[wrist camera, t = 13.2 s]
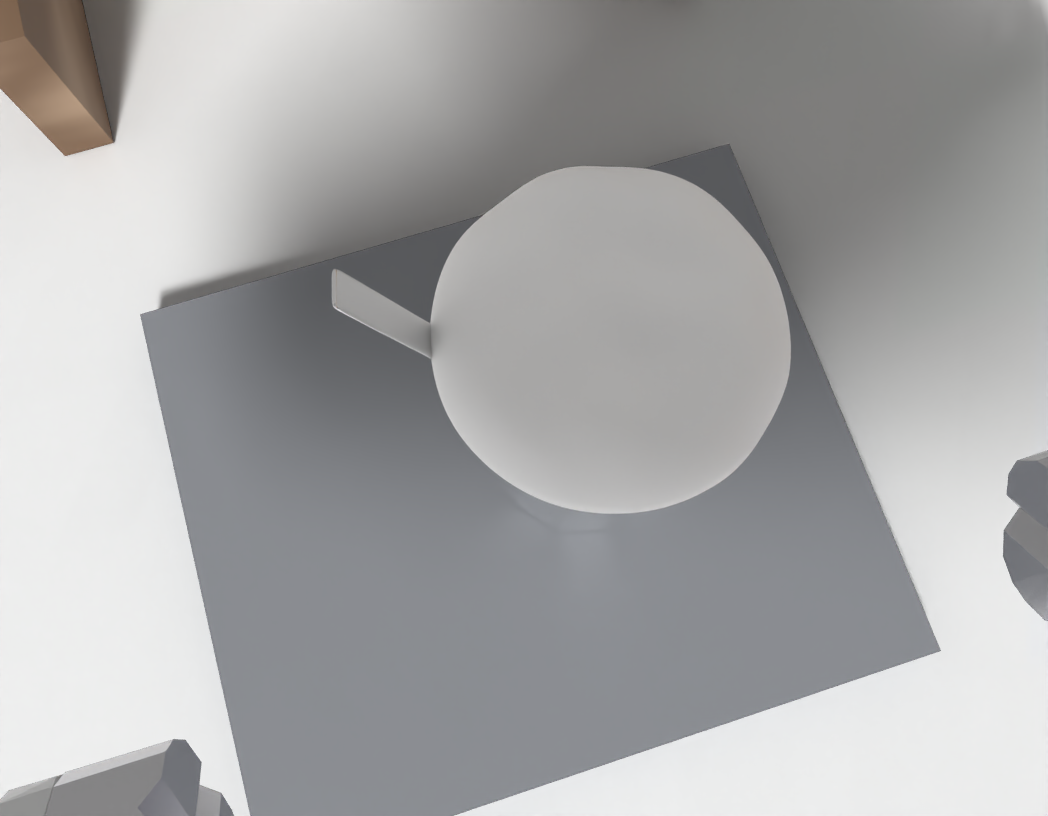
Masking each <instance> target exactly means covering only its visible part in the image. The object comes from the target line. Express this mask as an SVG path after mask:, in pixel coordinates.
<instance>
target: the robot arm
mask: <svg viewBox="0 0 1048 816" xmlns="http://www.w3.org/2000/svg"><path fill="white" fill-rule="evenodd" d="M1007 496H1008V497H1009V498H1010V499H1011V500H1012V501H1013V502H1014V503H1015V504H1016V505H1017V506H1019V507H1020V508H1019V509H1018V510H1017V512H1016V513H1015V515H1014V516H1013V518H1012V519H1011V521H1010V522H1009V523H1008V525H1007V526H1006V528H1005V529H1004V544H1003V557H1004V560H1005V563H1006V566H1007V568H1008V571H1009V574H1010V577H1011V579H1012V582H1013V584H1014V585H1015V587H1016V588H1017V589H1018V591H1019V592H1020V594H1021V595H1022V597H1023V598H1024V600H1025V601H1026V602H1027V603H1028V604H1029V605H1030V606H1031V607H1032V608H1033V609H1034V610H1035V611H1036V612H1037V613H1038V614H1039V615H1040V616H1041V617H1042V618H1043V619H1044V620H1046V621H1048V450H1047V451H1044V452H1041V453H1038V454H1035V455H1032V456H1029V457H1026V458H1023V459H1020V460H1017V461H1016V463H1015V465H1014V466H1013V468H1012V469H1011V471H1010V473H1009V475H1008V486H1007ZM200 772H201V761H200V760H199V758H198V757H197V756H196V754H195V753H194V751H193V750H192V749H191V747H190V746H189V744H188V743H187V742H186V740H178V739H173V740H170V741H166V742H163V743H160V744H156V745H153V746H150V747H146V748H143V749H140V750H137V751H133V752H130V753H127V754H123V755H120V756H117V757H114V758H110V759H107V760H104V761H100V762H97V763H94V764H90V765H87V766H84V767H81V768H77V769H74V770H71V771H67V772H65V773H64V774H62V775H59V776H55V777H52V778H49V779H45V780H42V781H39V782H35V783H32V784H29V785H25V786H22V787H19V788H15V789H12V790H9V791H8V792H7V793H6V794H5V795H4V796H3V797H2V798H1V799H0V816H234V815H233V812H232V810H231V808H230V806H229V805H228V803H227V802H226V800H225V798H224V797H223V795H222V794H221V793H220V792H217V791H215V790H212V789H209V788H207V787H204V786H201V785H199V781H200Z"/></svg>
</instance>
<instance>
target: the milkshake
mask: <svg viewBox="0 0 1048 816" xmlns="http://www.w3.org/2000/svg"><path fill="white" fill-rule="evenodd" d="M332 305H333V307H334V308H335V309H336V310H338V311H339V312H341V313H343V314H345V315H346V316H348V317H350V318H352V319H354V320H356V321H358V322H360V323H362V324H364V325H366V326H367V327H369V328H371V329H373V330H375V331H377V332H379V333H381V334H383V335H385V336H387V337H389V338H391V339H392V340H394V341H396V342H398V343H400V344H402V345H404V346H406V347H408V348H410V349H412V350H414V351H416V352H418V353H419V354H421V355H423V356H425V357H427V358H429V359H431V362H432V368H433V373H434V378H435V382H436V386H437V389H438V392H439V395H440V398H441V401H442V404H443V406H444V408H445V411H446V413H447V415H448V417H449V419H450V421H451V422H452V424H453V426H454V427H455V429H456V431H457V432H458V434H459V435H460V436H461V438H462V439H463V440H464V442H465V443H466V444H467V445H468V447H469V448H470V449H471V450H472V451H473V452H474V453H475V454H476V455H477V457H478V458H479V459H480V460H482V461H483V462H484V463H485V464H486V465H487V466H488V468H489V469H490V470H491V471H492V472H493V473H494V474H495V476H496V477H497V479H498V480H499V482H500V483H501V485H502V486H503V488H504V489H505V490H506V492H507V493H508V495H509V496H510V498H511V499H512V501H513V502H514V503H515V505H516V506H517V507H519V508H520V509H522V510H524V511H525V512H527V513H528V514H530V515H531V516H533V517H534V518H536V519H538V520H539V521H541V522H542V523H544V524H545V525H547V526H548V527H550V528H551V529H553V530H554V531H556V532H557V533H562V532H580V531H601V530H609V529H611V528H613V527H615V526H617V525H619V524H622V523H624V522H626V521H628V520H630V519H632V518H634V517H636V516H638V515H640V514H642V513H644V512H648V511H651V510H656V509H661V508H665V507H668V506H671V505H675V504H677V503H680V502H683V501H685V500H688V499H690V498H692V497H695V496H697V495H699V494H701V493H703V492H704V491H706V490H708V489H710V488H711V487H713V486H715V485H716V484H718V483H720V482H721V481H722V480H724V479H725V478H727V477H728V476H729V475H730V474H732V473H733V472H734V471H735V470H736V469H737V468H738V467H739V466H740V465H741V464H742V463H743V462H744V460H745V459H746V458H747V457H748V456H749V454H750V453H751V452H752V450H753V449H754V448H755V446H756V445H757V443H758V442H759V440H760V438H761V437H762V435H763V434H764V432H765V430H766V428H767V427H768V425H769V423H770V421H771V420H772V418H773V416H774V414H775V412H776V410H777V408H778V405H779V403H780V401H781V399H782V396H783V394H784V391H785V388H786V385H787V381H788V377H789V371H790V360H791V341H790V329H789V321H788V316H787V311H786V306H785V302H784V298H783V295H782V291H781V288H780V285H779V283H778V280H777V278H776V275H775V273H774V271H773V269H772V267H771V265H770V263H769V261H768V259H767V258H766V256H765V254H764V253H763V251H762V250H761V248H760V247H759V246H758V244H757V243H756V242H755V240H754V239H753V238H752V237H751V235H750V234H749V233H748V232H747V231H746V230H745V228H744V227H743V226H742V225H741V224H740V223H739V222H738V221H737V219H736V218H735V217H734V216H733V215H732V214H731V213H730V212H729V211H728V210H727V209H726V208H725V207H724V206H723V205H722V204H721V203H720V202H718V201H717V200H716V199H715V198H714V197H712V196H711V195H710V194H708V193H707V192H706V191H704V190H703V189H701V188H699V187H698V186H696V185H694V184H692V183H691V182H688V181H686V180H684V179H682V178H679V177H677V176H674V175H671V174H668V173H664V172H660V171H656V170H651V169H644V168H633V167H603V166H576V167H568V168H563V169H558V170H555V171H551V172H549V173H546V174H543V175H541V176H539V177H537V178H535V179H533V180H531V181H529V182H528V183H526V184H525V185H523V186H521V187H520V188H519V189H517V190H516V191H514V192H513V193H512V194H510V195H509V196H508V197H506V198H505V199H504V200H502V201H501V202H500V203H499V204H497V205H496V206H495V207H493V208H492V209H491V210H489V211H488V212H487V213H485V214H484V215H483V216H482V217H480V218H479V219H478V220H477V221H476V222H475V223H474V224H473V225H472V226H471V227H470V228H469V229H468V230H467V231H466V232H465V233H464V234H463V235H462V237H461V238H460V239H459V240H458V242H457V243H456V245H455V246H454V248H453V249H452V251H451V253H450V255H449V256H448V258H447V260H446V263H445V265H444V267H443V270H442V272H441V275H440V278H439V281H438V284H437V288H436V292H435V296H434V301H433V306H432V313H431V322H430V323H429V322H427V321H425V320H424V319H422V318H420V317H419V316H417V315H415V314H414V313H412V312H410V311H408V310H407V309H405V308H403V307H402V306H400V305H398V304H397V303H395V302H393V301H391V300H390V299H388V298H386V297H385V296H383V295H381V294H380V293H378V292H376V291H374V290H373V289H371V288H369V287H368V286H366V285H364V284H363V283H361V282H359V281H357V280H356V279H354V278H352V277H351V276H349V275H347V274H345V273H344V272H342V271H340V270H338V269H334V270H333V271H332Z"/></svg>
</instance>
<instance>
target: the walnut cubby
mask: <svg viewBox="0 0 1048 816" xmlns="http://www.w3.org/2000/svg"><path fill="white" fill-rule="evenodd" d="M0 89H1V90H2V91H3V92H4V93H5V94H6V95H7V96H8V97H9V98H10V99H11V100H12V101H13V102H14V103H15V104H16V105H17V106H18V107H19V108H20V110H21V111H22V112H23V113H24V114H25V115H26V116H27V117H28V118H29V119H30V120H31V121H32V122H33V123H34V124H35V125H36V126H37V127H38V128H39V129H40V130H41V131H42V132H43V133H44V135H45V136H46V137H47V138H48V139H49V140H50V141H51V142H52V143H53V144H54V145H55V146H56V147H57V148H58V149H59V150H60V151H61V152H62V153H63V154H64V155H65V156H67V155H71V154H75V153H78V152H82V151H85V150H89V149H93V148H96V147H100V146H104V145H107V144H111V143H114V142H113V138H112V133H111V129H110V124H109V120H108V115H107V111H106V106H105V102H104V97H103V93H102V88H101V84H100V79H99V75H98V70H97V66H96V62H95V57H94V53H93V48H92V44H91V39H90V35H89V30H88V26H87V21H86V17H85V12H84V8H83V3H82V0H0Z"/></svg>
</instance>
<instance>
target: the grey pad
mask: <svg viewBox="0 0 1048 816" xmlns="http://www.w3.org/2000/svg"><path fill="white" fill-rule="evenodd" d="M644 169H651V170H656V171H660V172H664V173H668V174H671V175H674V176H677V177H679V178H682V179H684V180H686V181H688V182H691V183H692V184H694V185H696V186H698V187H699V188H701V189H703V190H704V191H706V192H707V193H708V194H710V195H711V196H712V197H714V198H715V199H716V200H717V201H718V202H720V203H721V204H722V205H723V206H724V207H725V208H726V209H727V210H728V211H729V212H730V213H731V214H732V215H733V216H734V217H735V218H736V219H737V221H738V222H739V223H740V224H741V225H742V226H743V227H744V228H745V230H746V231H747V232H748V233H749V234H750V235H751V237H752V238H753V239H754V240H755V242H756V243H757V244H758V246H759V247H760V248H761V250H762V251H763V253H764V254H765V256H766V258H767V259H768V261H769V263H770V265H771V267H772V269H773V271H774V273H775V275H776V278H777V280H778V283H779V285H780V288H781V291H782V295H783V298H784V302H785V306H786V311H787V316H788V321H789V329H790V341H791V360H790V371H789V377H788V381H787V385H786V388H785V391H784V394H783V396H782V399H781V401H780V403H779V405H778V408H777V410H776V412H775V414H774V416H773V418H772V420H771V421H770V423H769V425H768V427H767V428H766V430H765V432H764V434H763V435H762V437H761V438H760V440H759V442H758V443H757V445H756V446H755V448H754V449H753V450H752V452H751V453H750V454H749V456H748V457H747V458H746V459H745V460H744V462H743V463H742V464H741V465H740V466H739V467H738V468H737V469H736V470H735V471H734V472H733V473H732V474H730V475H729V476H728V477H727V478H725V479H724V480H722V481H721V482H720V483H718V484H716V485H715V486H713V487H711V488H710V489H708V490H706V491H704V492H703V493H701V494H699V495H697V496H695V497H692V498H690V499H688V500H685V501H683V502H680V503H677V504H675V505H671V506H668V507H665V508H661V509H656V510H651V511H648V512H644V513H642V514H640V515H638V516H636V517H634V518H632V519H630V520H628V521H626V522H624V523H622V524H619V525H617V526H615V527H613V528H611V529H609V530H601V531H580V532H562V533H557V532H556V531H554V530H553V529H551V528H550V527H548V526H547V525H545V524H544V523H542V522H541V521H539V520H538V519H536V518H534V517H533V516H531V515H530V514H528V513H527V512H525V511H524V510H522V509H520V508H519V507H517V506H516V505H515V503H514V502H513V501H512V499H511V498H510V496H509V495H508V493H507V492H506V490H505V489H504V488H503V486H502V485H501V483H500V482H499V480H498V479H497V477H496V476H495V474H494V473H493V472H492V471H491V470H490V469H489V468H488V466H487V465H486V464H485V463H484V462H483V461H482V460H480V459H479V458H478V457H477V455H476V454H475V453H474V452H473V451H472V450H471V449H470V448H469V447H468V445H467V444H466V443H465V442H464V440H463V439H462V438H461V436H460V435H459V434H458V432H457V431H456V429H455V427H454V426H453V424H452V422H451V421H450V419H449V417H448V415H447V413H446V411H445V408H444V406H443V404H442V401H441V398H440V395H439V392H438V389H437V386H436V382H435V378H434V373H433V368H432V362H431V359H429V358H427V357H425V356H423V355H421V354H419V353H418V352H416V351H414V350H412V349H410V348H408V347H406V346H404V345H402V344H400V343H398V342H396V341H394V340H392V339H391V338H389V337H387V336H385V335H383V334H381V333H379V332H377V331H375V330H373V329H371V328H369V327H367V326H366V325H364V324H362V323H360V322H358V321H356V320H354V319H352V318H350V317H348V316H346V315H345V314H343V313H341V312H339V311H338V310H336V309H335V308H334V307H333V305H332V271H333V270H334V269H338V270H340V271H342V272H344V273H345V274H347V275H349V276H351V277H352V278H354V279H356V280H357V281H359V282H361V283H363V284H364V285H366V286H368V287H369V288H371V289H373V290H374V291H376V292H378V293H380V294H381V295H383V296H385V297H386V298H388V299H390V300H391V301H393V302H395V303H397V304H398V305H400V306H402V307H403V308H405V309H407V310H408V311H410V312H412V313H414V314H415V315H417V316H419V317H420V318H422V319H424V320H425V321H427V322H429V323H430V322H431V313H432V306H433V301H434V296H435V292H436V288H437V284H438V281H439V278H440V275H441V272H442V270H443V267H444V265H445V263H446V260H447V258H448V256H449V255H450V253H451V251H452V249H453V248H454V246H455V245H456V243H457V242H458V240H459V239H460V238H461V237H462V235H463V234H464V233H465V232H466V231H467V230H468V229H469V228H470V227H471V226H472V225H473V224H474V223H475V222H476V221H477V220H478V219H479V218H480V217H482V216H483V215H482V216H478V217H475V218H471V219H468V220H464V221H461V222H458V223H454V224H451V225H447V226H444V227H440V228H437V229H433V230H430V231H426V232H423V233H420V234H416V235H413V236H409V237H406V238H402V239H399V240H395V241H392V242H389V243H385V244H382V245H378V246H375V247H371V248H368V249H364V250H361V251H357V252H354V253H351V254H347V255H344V256H340V257H337V258H333V259H330V260H326V261H323V262H319V263H316V264H313V265H309V266H306V267H302V268H299V269H295V270H292V271H288V272H285V273H282V274H278V275H275V276H271V277H268V278H264V279H261V280H257V281H254V282H250V283H247V284H244V285H240V286H237V287H233V288H230V289H226V290H223V291H219V292H216V293H213V294H209V295H206V296H202V297H199V298H195V299H192V300H188V301H185V302H181V303H178V304H175V305H171V306H168V307H164V308H161V309H157V310H154V311H150V312H147V313H143V314H140V316H141V320H142V325H143V329H144V334H145V339H146V343H147V348H148V352H149V357H150V361H151V366H152V370H153V375H154V379H155V384H156V389H157V393H158V398H159V402H160V407H161V411H162V416H163V420H164V425H165V429H166V434H167V439H168V443H169V448H170V452H171V457H172V461H173V466H174V470H175V475H176V479H177V484H178V489H179V493H180V498H181V502H182V507H183V511H184V516H185V520H186V525H187V529H188V534H189V539H190V543H191V548H192V552H193V557H194V561H195V566H196V570H197V575H198V579H199V584H200V589H201V593H202V598H203V602H204V607H205V611H206V616H207V620H208V625H209V629H210V634H211V639H212V643H213V648H214V652H215V657H216V661H217V666H218V670H219V675H220V679H221V684H222V689H223V693H224V698H225V702H226V707H227V711H228V716H229V720H230V725H231V729H232V734H233V739H234V743H235V748H236V752H237V757H238V761H239V766H240V770H241V775H242V779H243V784H244V789H245V793H246V798H247V802H248V807H249V811H250V816H454V815H457V814H460V813H463V812H466V811H469V810H472V809H475V808H477V807H480V806H483V805H486V804H489V803H492V802H495V801H498V800H501V799H504V798H507V797H510V796H513V795H516V794H519V793H522V792H525V791H528V790H531V789H534V788H537V787H540V786H543V785H546V784H548V783H551V782H554V781H557V780H560V779H563V778H566V777H569V776H572V775H575V774H578V773H581V772H584V771H587V770H590V769H593V768H596V767H599V766H602V765H605V764H608V763H611V762H614V761H616V760H619V759H622V758H625V757H628V756H631V755H634V754H637V753H640V752H643V751H646V750H649V749H652V748H655V747H658V746H661V745H664V744H667V743H670V742H673V741H676V740H679V739H682V738H684V737H687V736H690V735H693V734H696V733H699V732H702V731H705V730H708V729H711V728H714V727H717V726H720V725H723V724H726V723H729V722H732V721H735V720H738V719H741V718H744V717H747V716H750V715H753V714H755V713H758V712H761V711H764V710H767V709H770V708H773V707H776V706H779V705H782V704H785V703H788V702H791V701H794V700H797V699H800V698H803V697H806V696H809V695H812V694H815V693H818V692H821V691H823V690H826V689H829V688H832V687H835V686H838V685H841V684H844V683H847V682H850V681H853V680H856V679H859V678H862V677H865V676H868V675H871V674H874V673H877V672H880V671H883V670H886V669H889V668H892V667H894V666H897V665H900V664H903V663H906V662H909V661H912V660H915V659H918V658H921V657H924V656H927V655H930V654H933V653H936V652H939V651H941V650H940V648H939V645H938V643H937V640H936V638H935V636H934V633H933V631H932V628H931V626H930V624H929V621H928V619H927V617H926V614H925V612H924V609H923V607H922V605H921V602H920V600H919V597H918V595H917V593H916V590H915V588H914V585H913V583H912V581H911V578H910V576H909V573H908V571H907V569H906V566H905V564H904V561H903V559H902V557H901V554H900V552H899V549H898V547H897V545H896V542H895V540H894V537H893V535H892V533H891V530H890V528H889V526H888V523H887V521H886V518H885V516H884V514H883V511H882V509H881V506H880V504H879V502H878V499H877V497H876V494H875V492H874V490H873V487H872V485H871V482H870V480H869V478H868V475H867V473H866V470H865V468H864V466H863V463H862V461H861V458H860V456H859V454H858V451H857V449H856V447H855V444H854V442H853V439H852V437H851V435H850V432H849V430H848V427H847V425H846V423H845V420H844V418H843V415H842V413H841V411H840V408H839V406H838V403H837V401H836V399H835V396H834V394H833V391H832V389H831V387H830V384H829V382H828V379H827V377H826V375H825V372H824V370H823V367H822V365H821V363H820V360H819V358H818V356H817V353H816V351H815V348H814V346H813V344H812V341H811V339H810V336H809V334H808V332H807V329H806V327H805V324H804V322H803V320H802V317H801V315H800V312H799V310H798V308H797V305H796V303H795V300H794V298H793V296H792V293H791V291H790V288H789V286H788V284H787V281H786V279H785V276H784V274H783V272H782V269H781V267H780V265H779V262H778V260H777V257H776V255H775V253H774V250H773V248H772V245H771V243H770V241H769V238H768V236H767V233H766V231H765V229H764V226H763V224H762V221H761V219H760V217H759V214H758V212H757V209H756V207H755V205H754V202H753V200H752V197H751V195H750V193H749V190H748V188H747V185H746V183H745V181H744V178H743V176H742V174H741V171H740V169H739V166H738V164H737V162H736V159H735V157H734V154H733V152H732V150H731V147H730V145H729V144H727V145H723V146H720V147H716V148H713V149H709V150H706V151H703V152H699V153H696V154H692V155H689V156H685V157H682V158H678V159H675V160H672V161H668V162H665V163H661V164H658V165H654V166H651V167H647V168H644Z"/></svg>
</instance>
